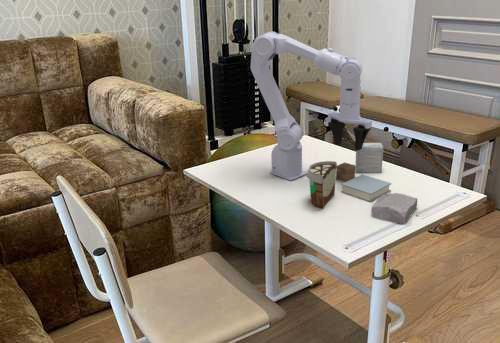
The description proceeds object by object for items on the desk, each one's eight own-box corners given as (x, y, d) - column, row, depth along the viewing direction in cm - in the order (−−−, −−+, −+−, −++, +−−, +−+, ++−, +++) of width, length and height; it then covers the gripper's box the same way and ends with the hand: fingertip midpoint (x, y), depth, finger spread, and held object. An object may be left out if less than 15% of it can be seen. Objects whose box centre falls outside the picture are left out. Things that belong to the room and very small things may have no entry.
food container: (315, 190, 145) (316, 158, 142) (336, 193, 142) (337, 161, 139) (299, 207, 135) (299, 173, 131) (321, 211, 132) (321, 176, 129)
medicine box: (379, 168, 160) (381, 142, 156) (382, 173, 155) (383, 147, 152) (354, 168, 160) (356, 142, 157) (356, 173, 156) (357, 147, 153)
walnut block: (336, 179, 152) (336, 165, 151) (344, 175, 155) (344, 162, 153) (346, 183, 149) (347, 169, 148) (354, 179, 152) (355, 165, 150)
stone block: (368, 224, 129) (407, 225, 123) (366, 207, 128) (405, 207, 122) (383, 208, 138) (420, 208, 133) (381, 191, 137) (418, 191, 131)
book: (341, 192, 143) (341, 184, 142) (361, 181, 150) (362, 174, 149) (370, 202, 136) (371, 193, 135) (390, 191, 143) (391, 183, 142)
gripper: (379, 103, 140) (376, 148, 145) (339, 95, 151) (337, 138, 156) (364, 108, 136) (361, 155, 141) (323, 100, 146) (323, 143, 151)
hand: (348, 146), depth 148 cm, fingers open, 7 cm apart
